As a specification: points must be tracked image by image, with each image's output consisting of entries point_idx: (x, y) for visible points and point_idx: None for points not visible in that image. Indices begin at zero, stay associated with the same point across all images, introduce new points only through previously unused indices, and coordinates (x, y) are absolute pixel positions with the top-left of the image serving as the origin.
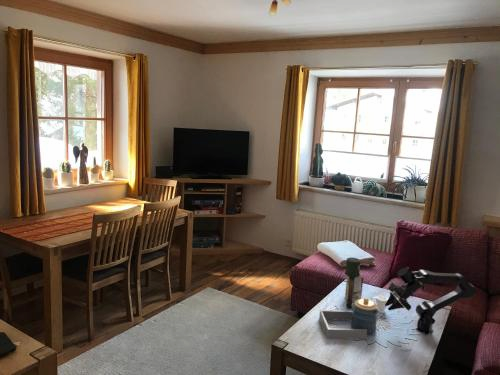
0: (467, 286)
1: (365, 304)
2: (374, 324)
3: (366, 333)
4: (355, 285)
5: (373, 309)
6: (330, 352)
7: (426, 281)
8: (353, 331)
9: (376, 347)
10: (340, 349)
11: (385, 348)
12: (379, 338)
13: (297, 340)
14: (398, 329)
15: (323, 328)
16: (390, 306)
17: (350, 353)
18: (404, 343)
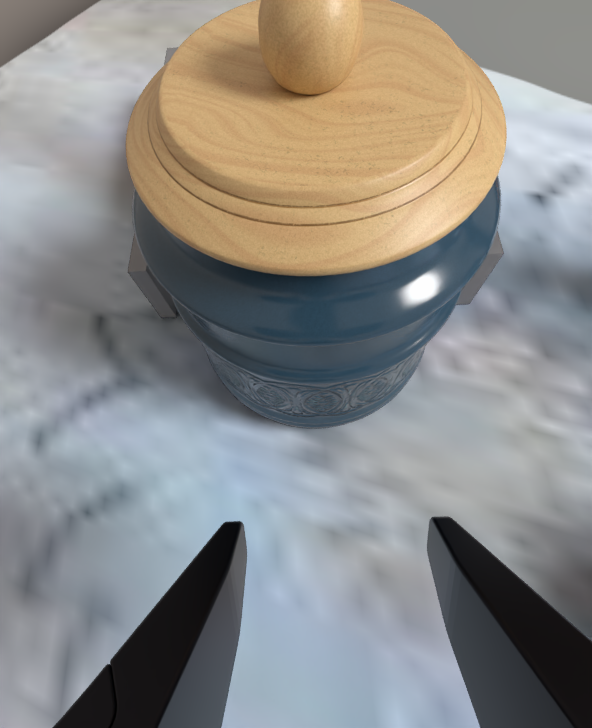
0: None
1: (225, 57)
2: (211, 356)
3: (140, 287)
4: None
5: (137, 190)
6: (53, 115)
7: None
8: None
9: (48, 363)
10: (70, 158)
11: (21, 429)
12: (168, 427)
13: (176, 14)
14: (343, 725)
15: None
16: (193, 586)
17: (21, 196)
18: (58, 665)
